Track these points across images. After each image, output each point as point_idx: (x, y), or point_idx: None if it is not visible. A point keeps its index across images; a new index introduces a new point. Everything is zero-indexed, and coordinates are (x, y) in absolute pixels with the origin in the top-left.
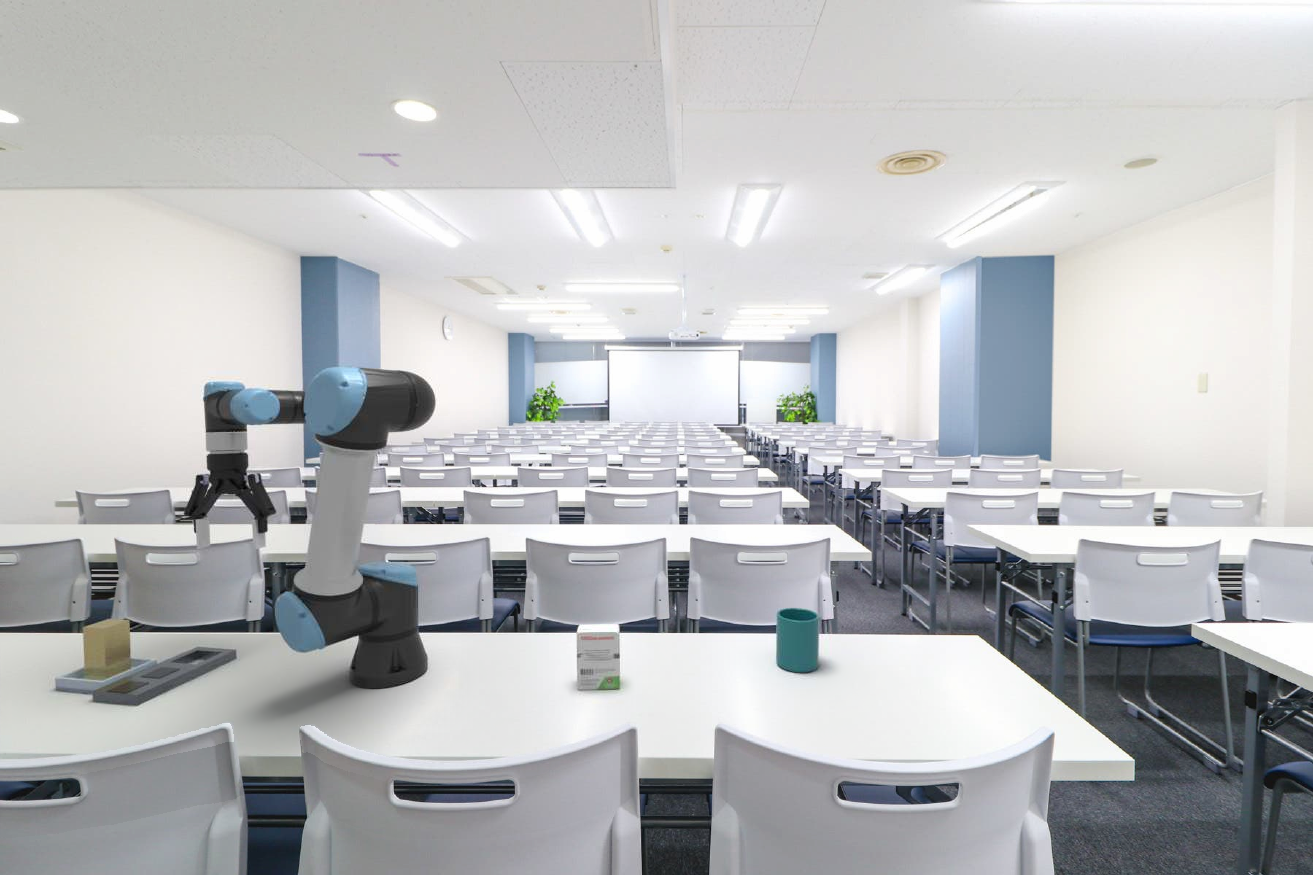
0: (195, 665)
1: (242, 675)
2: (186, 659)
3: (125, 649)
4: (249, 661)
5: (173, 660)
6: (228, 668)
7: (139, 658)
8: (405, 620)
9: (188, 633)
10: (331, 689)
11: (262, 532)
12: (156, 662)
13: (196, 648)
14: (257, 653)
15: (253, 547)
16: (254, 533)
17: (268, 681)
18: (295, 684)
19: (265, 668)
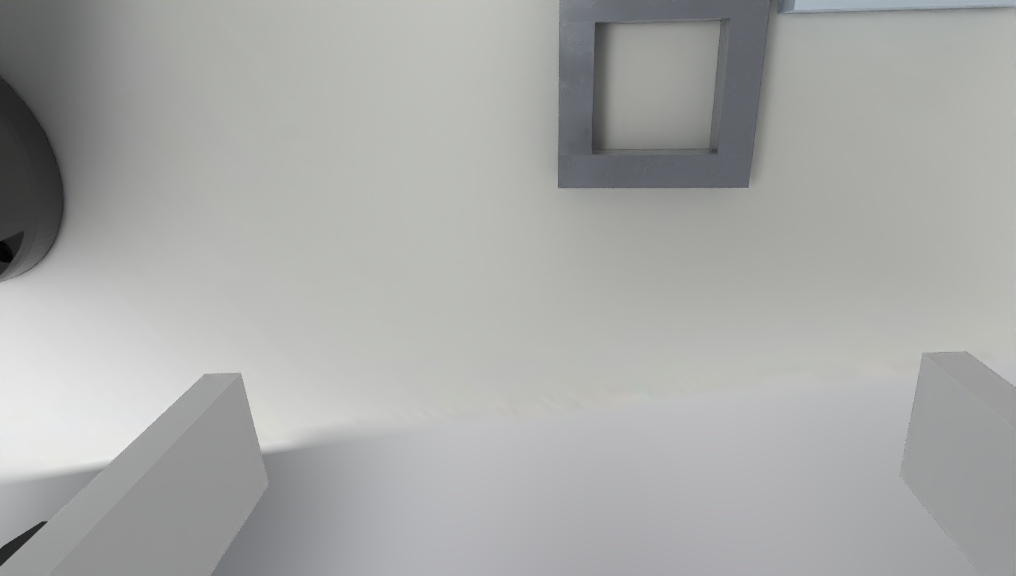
0: (585, 10)
1: (403, 46)
2: (717, 99)
3: None
4: (486, 165)
5: (727, 37)
6: (510, 93)
7: (888, 2)
8: None
9: None
10: (4, 6)
11: (32, 530)
12: (790, 7)
13: (736, 169)
14: (519, 235)
15: (229, 382)
16: (107, 489)
17: (265, 19)
18: (152, 16)
19: (374, 119)
